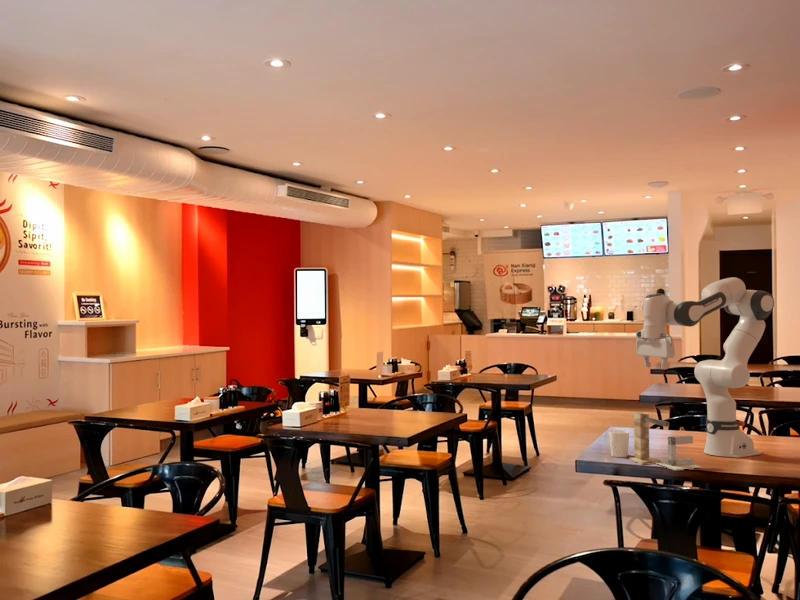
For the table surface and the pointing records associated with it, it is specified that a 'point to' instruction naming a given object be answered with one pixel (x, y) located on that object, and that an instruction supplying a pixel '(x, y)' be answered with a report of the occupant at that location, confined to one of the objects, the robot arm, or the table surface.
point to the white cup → (619, 443)
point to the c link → (672, 450)
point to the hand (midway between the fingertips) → (655, 368)
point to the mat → (678, 466)
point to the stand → (644, 437)
